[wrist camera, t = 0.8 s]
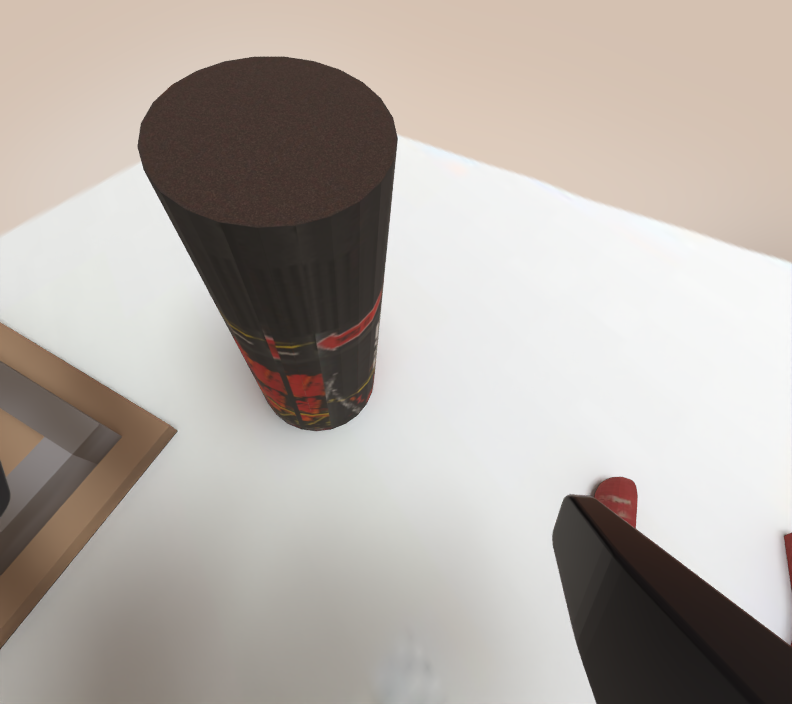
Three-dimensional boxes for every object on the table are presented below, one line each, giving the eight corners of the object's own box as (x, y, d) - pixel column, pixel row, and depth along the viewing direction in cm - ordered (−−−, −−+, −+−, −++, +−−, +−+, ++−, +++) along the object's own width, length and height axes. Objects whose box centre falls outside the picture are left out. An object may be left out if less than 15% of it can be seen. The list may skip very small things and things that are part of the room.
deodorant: (256, 342, 24) (133, 66, 11) (359, 321, 25) (363, 47, 12) (273, 443, 22) (143, 249, 8) (386, 415, 23) (429, 204, 10)
